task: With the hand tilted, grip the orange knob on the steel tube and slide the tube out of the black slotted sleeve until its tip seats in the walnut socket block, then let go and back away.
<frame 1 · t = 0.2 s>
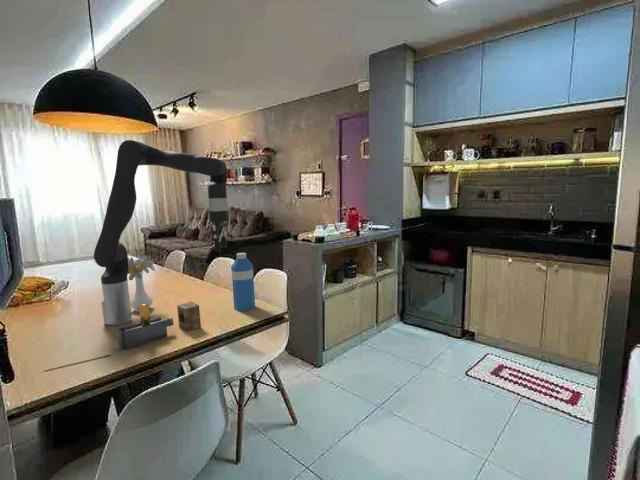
hand: (221, 249, 140), 29 cm above the table, tool pointing down, fingers open, 8 cm apart
socket block: (189, 316, 135), on the table
water bottle: (244, 308, 157), on the table
pencil: (77, 365, 109), on the table
sleeve: (123, 348, 119), on the table
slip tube: (148, 317, 124), point 8 cm above the table, slide at 0.0 cm
flower vase: (143, 310, 158), on the table
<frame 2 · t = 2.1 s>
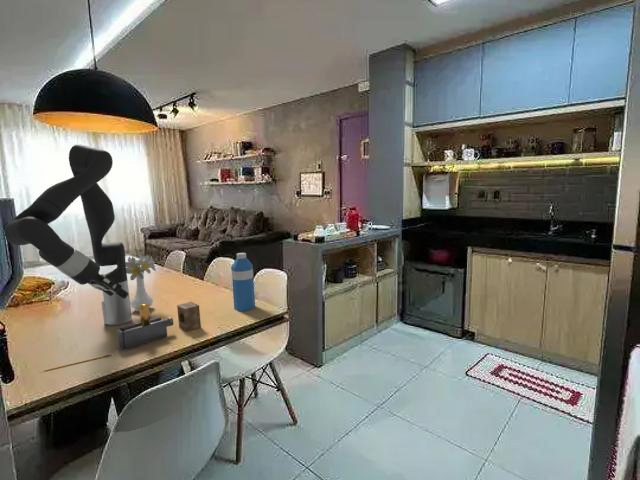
hand: (119, 294, 116), 19 cm above the table, tool tilted 45°, fingers open, 8 cm apart
nothing on the table moved.
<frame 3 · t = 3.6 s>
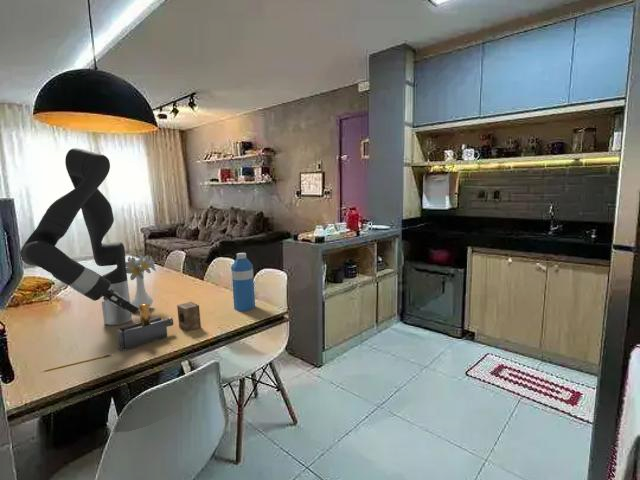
hand: (132, 308, 120), 13 cm above the table, tool tilted 45°, fingers open, 8 cm apart
flower vase: (143, 310, 158), on the table, touching arm
everything else where it was.
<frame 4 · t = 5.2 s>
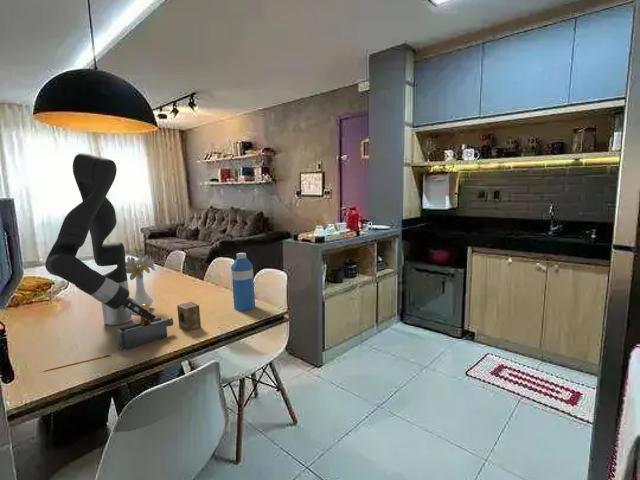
hand: (151, 317, 125), 8 cm above the table, tool tilted 45°, fingers closed on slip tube, 3 cm apart
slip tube: (148, 317, 124), point 8 cm above the table, slide at 0.0 cm, touching gripper
everything else where it was.
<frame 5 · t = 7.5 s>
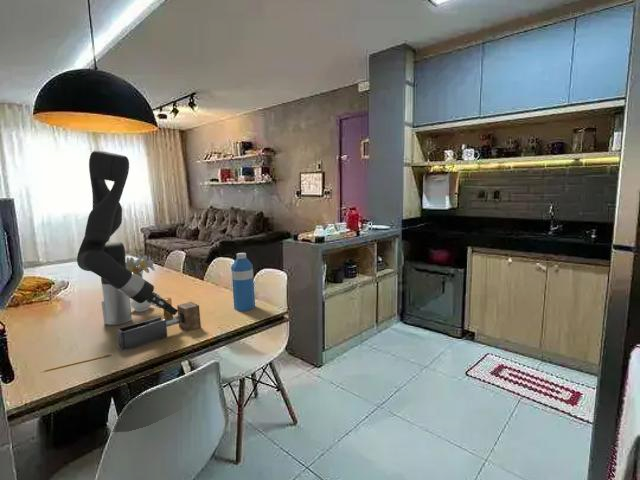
hand: (173, 311, 130), 8 cm above the table, tool tilted 45°, fingers closed on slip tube, 3 cm apart
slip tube: (170, 311, 130), point 8 cm above the table, slide at 8.1 cm, touching gripper
everything else where it was.
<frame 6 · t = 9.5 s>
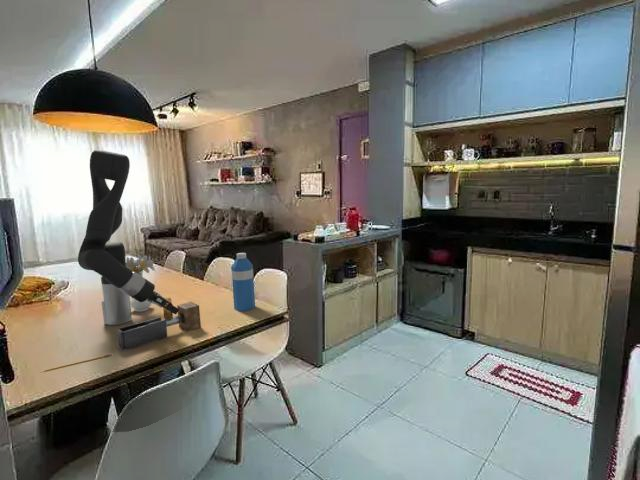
hand: (172, 309, 130), 9 cm above the table, tool tilted 45°, fingers open, 8 cm apart
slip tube: (170, 311, 130), point 8 cm above the table, slide at 8.0 cm
everything else where it was.
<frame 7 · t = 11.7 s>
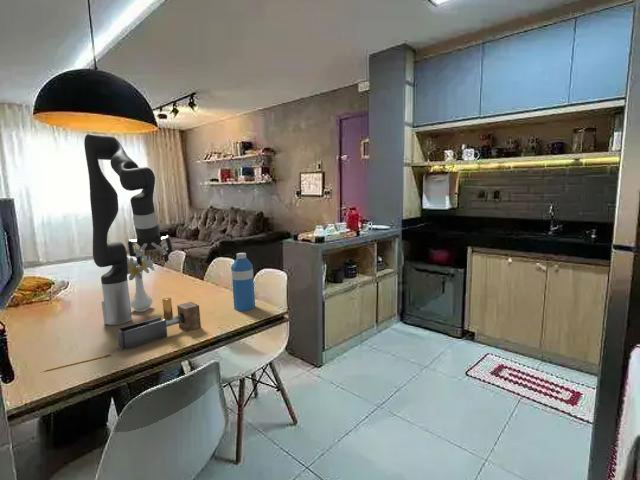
hand: (153, 263, 130), 26 cm above the table, tool tilted 20°, fingers open, 8 cm apart
flower vase: (143, 310, 158), on the table
everything else where it was.
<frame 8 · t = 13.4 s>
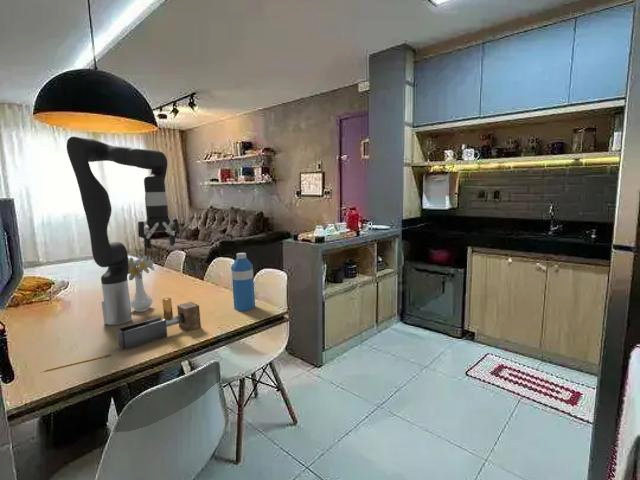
hand: (160, 246, 132), 32 cm above the table, tool pointing down, fingers open, 8 cm apart
nothing on the table moved.
at the end: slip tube slide at 8.0 cm; the gripper is holding nothing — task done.
